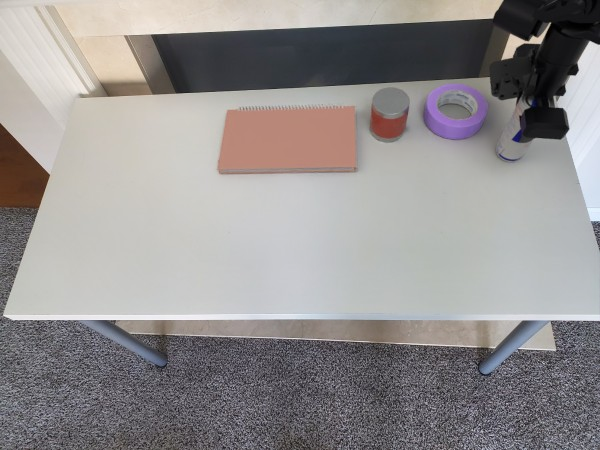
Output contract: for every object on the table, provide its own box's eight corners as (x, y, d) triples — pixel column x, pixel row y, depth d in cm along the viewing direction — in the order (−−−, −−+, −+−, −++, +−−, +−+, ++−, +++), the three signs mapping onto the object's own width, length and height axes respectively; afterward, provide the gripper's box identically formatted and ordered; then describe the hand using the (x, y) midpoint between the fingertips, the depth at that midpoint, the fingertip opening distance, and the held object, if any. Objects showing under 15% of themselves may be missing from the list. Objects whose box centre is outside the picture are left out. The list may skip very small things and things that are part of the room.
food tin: (405, 117, 92) (410, 87, 85) (404, 143, 89) (409, 115, 82) (371, 115, 93) (373, 86, 86) (368, 141, 90) (370, 113, 83)
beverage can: (519, 167, 84) (552, 114, 70) (492, 160, 85) (518, 107, 71) (524, 146, 85) (557, 91, 72) (497, 139, 87) (524, 84, 73)
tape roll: (478, 96, 93) (483, 82, 90) (486, 139, 87) (492, 126, 84) (421, 97, 94) (424, 83, 91) (425, 140, 89) (428, 127, 85)
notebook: (354, 108, 94) (355, 101, 93) (356, 172, 86) (356, 165, 84) (229, 111, 97) (227, 105, 95) (219, 174, 89) (217, 168, 87)
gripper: (497, 10, 71) (471, 84, 84) (506, 95, 62) (475, 163, 75) (572, 12, 69) (533, 87, 83) (592, 100, 60) (544, 168, 74)
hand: (520, 124), depth 79 cm, fingers open, 7 cm apart
